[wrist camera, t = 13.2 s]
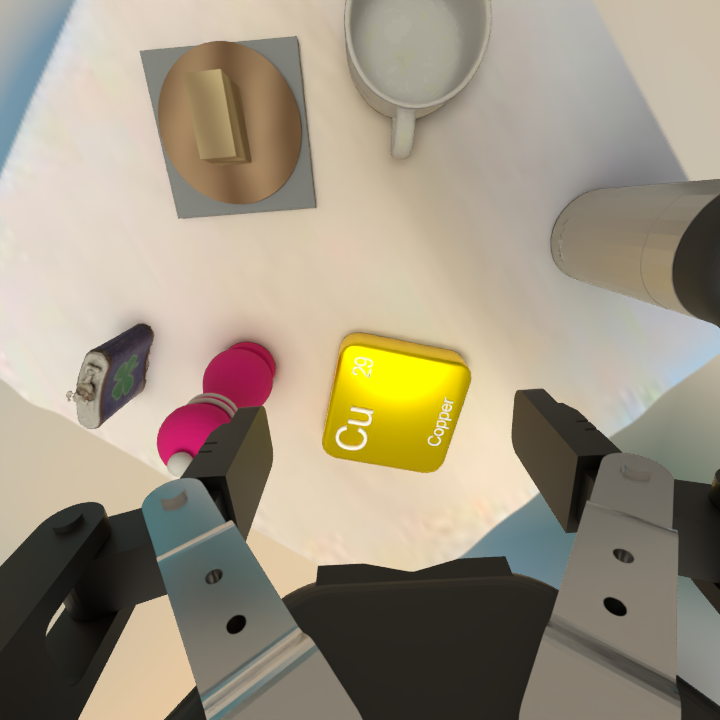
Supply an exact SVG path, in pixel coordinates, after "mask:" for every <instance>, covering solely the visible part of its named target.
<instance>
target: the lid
mask: <svg viewBox="0 0 720 720" xmlns="http://www.w3.org/2000/svg"><path fill="white" fill-rule="evenodd" d="M158 123H159V129H160V135H161V138H162V142H163V145H164V147H165V150H166V152H167V155H168V157H169V158H170V160H171V162H172V164H173V165H174V167H175V168H176V170H177V171H178V173H179V174H180V175H181V176H182V177H183V178H184V179H185V181H187V182H188V183H189V184H190V185H191V186H192V187H193V188H195V189H196V190H197V191H199V192H200V193H202V194H204V195H205V196H207V197H209V198H212V199H214V200H217V201H220V202H224V203H229V204H250V203H255V202H258V201H261V200H264V199H266V198H268V197H270V196H271V195H273V194H274V193H276V192H277V191H278V190H279V189H280V188H281V187H282V186H283V185H284V184H285V183H286V182H287V180H288V179H289V178H290V176H291V174H292V173H293V171H294V169H295V166H296V164H297V161H298V158H299V155H300V149H301V143H302V127H301V119H300V113H299V110H298V106H297V103H296V101H295V98H294V96H293V93H292V92H291V90H290V88H289V86H288V84H287V83H286V81H285V79H284V78H283V77H282V75H281V74H280V72H279V71H278V70H277V69H276V68H275V67H274V66H273V65H272V64H271V62H269V61H268V60H267V59H266V58H265V57H263V56H262V55H261V54H259V53H257V52H256V51H254V50H253V49H250V48H248V47H246V46H244V45H240V44H237V43H233V42H226V41H214V42H209V43H204V44H201V45H199V46H196V47H194V48H192V49H191V50H189V51H187V52H186V53H185V54H183V55H182V56H181V57H180V58H179V59H178V60H177V61H176V62H175V63H174V64H173V66H172V67H171V69H170V70H169V72H168V73H167V76H166V78H165V80H164V82H163V85H162V88H161V92H160V97H159V102H158Z"/></svg>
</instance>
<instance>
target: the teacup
mask: <svg viewBox="0 0 720 720" xmlns="http://www.w3.org/2000/svg"><path fill="white" fill-rule="evenodd" d="M344 26H345V38H346V53H347V61H348V66H349V70H350V73H351V76H352V79H353V82H354V84H355V86H356V88H357V89H358V91H359V93H360V94H361V96H362V97H363V98H364V99H365V101H366V102H367V103H368V104H369V105H370V106H371V107H372V108H374V109H375V110H376V111H378V112H380V113H382V114H383V115H386V116H388V117H391V118H392V138H391V155H392V157H393V158H396V159H406V158H408V157H409V155H410V153H411V149H412V144H413V138H414V131H415V118H420V117H422V116H425V115H427V114H430V113H432V112H433V111H435V110H437V109H438V108H440V107H441V106H442V105H444V104H445V103H446V102H447V101H448V100H450V99H451V98H453V97H454V96H455V95H457V94H458V93H459V92H460V91H461V90H462V89H463V88H464V87H465V86H466V85H467V84H468V82H469V81H470V80H471V78H472V77H473V76H474V74H475V73H476V71H477V69H478V68H479V65H480V63H481V61H482V59H483V56H484V54H485V51H486V48H487V45H488V41H489V37H490V30H491V0H346V4H345V13H344Z"/></svg>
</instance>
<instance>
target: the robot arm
mask: <svg viewBox="0 0 720 720" xmlns="http://www.w3.org/2000/svg"><path fill="white" fill-rule="evenodd" d="M551 250H552V255H553V258H554V260H555V262H556V264H557V266H558V267H559V268H560V269H561V271H562V272H564V273H565V274H567V275H568V276H570V277H572V278H575V279H578V280H581V281H584V282H587V283H590V284H592V285H596V286H599V287H602V288H605V289H608V290H611V291H614V292H617V293H620V294H623V295H626V296H629V297H632V298H636V299H639V300H642V301H645V302H648V303H651V304H654V305H657V306H660V307H663V308H666V309H670V310H673V311H676V312H679V313H682V314H685V315H688V316H692V317H695V318H698V319H701V320H704V321H707V322H710V323H713V324H715V325H717V326H718V327H719V328H720V179H714V180H702V181H690V182H678V183H666V184H654V185H642V186H630V187H617V188H606V189H597V190H593V191H590V192H587V193H585V194H583V195H581V196H579V197H578V198H576V199H575V200H574V201H573V202H571V203H570V204H569V205H568V206H567V207H566V208H565V210H564V211H563V212H562V213H561V215H560V217H559V218H558V220H557V222H556V224H555V227H554V229H553V233H552V238H551ZM512 443H513V448H514V450H515V453H516V454H517V456H518V458H519V459H520V461H521V462H522V464H523V466H524V467H525V469H526V470H527V472H528V474H529V475H530V477H531V478H532V480H533V481H534V483H535V485H536V486H537V488H538V489H539V491H540V493H541V494H542V496H543V497H544V499H545V501H546V502H547V504H548V505H549V507H550V508H551V510H552V512H553V513H554V515H555V516H556V518H557V520H558V521H559V523H560V524H561V526H562V528H563V529H564V531H565V532H566V533H572V532H577V534H576V537H575V541H574V544H573V547H572V550H571V553H570V557H569V560H568V564H567V567H566V570H565V573H564V577H563V579H562V583H561V586H560V590H557V589H555V588H554V587H552V586H550V585H548V584H546V583H544V582H542V581H539V580H536V579H534V578H531V577H528V576H525V575H521V574H517V573H512V572H511V569H510V567H509V565H508V562H507V560H506V557H504V556H502V557H483V558H464V559H456V560H453V561H449V562H446V563H442V564H439V565H436V566H432V567H429V568H425V569H422V570H419V571H414V572H409V571H402V570H397V569H391V568H386V567H380V566H374V565H369V564H345V565H326V566H318V571H317V580H316V582H315V583H311V584H308V585H306V586H304V587H301V588H299V589H297V590H295V591H293V592H291V593H290V594H288V595H286V596H285V597H284V598H282V599H281V598H280V596H279V595H278V593H277V591H276V590H275V588H274V587H273V585H272V583H271V582H270V580H269V579H268V577H267V575H266V574H265V572H264V571H263V569H262V567H261V566H260V564H259V562H258V561H257V559H256V558H255V556H254V554H253V553H252V551H251V550H250V548H249V546H248V545H247V543H246V539H247V536H248V533H249V531H250V528H251V525H252V522H253V519H254V516H255V513H256V510H257V508H258V505H259V502H260V499H261V496H262V493H263V490H264V487H265V484H266V482H267V479H268V476H269V473H270V470H271V467H272V462H273V448H272V442H271V437H270V431H269V426H268V420H267V415H266V411H265V408H264V407H263V406H252V407H239V408H238V410H237V411H236V413H235V415H234V416H233V418H232V419H231V421H230V423H223V424H222V425H220V426H219V427H218V428H216V429H215V430H214V431H212V432H211V433H210V434H209V436H208V437H207V439H206V440H205V442H204V445H202V446H201V448H200V449H199V451H198V453H197V454H196V455H195V457H194V458H193V460H192V461H191V463H190V464H189V466H188V467H187V469H186V470H185V472H184V473H183V475H182V476H181V478H180V479H177V480H173V481H170V482H168V483H165V484H163V485H162V486H160V487H158V488H156V489H155V490H154V491H152V492H151V493H150V494H149V495H148V496H147V497H146V498H145V500H144V502H143V504H142V508H139V509H136V510H133V511H129V512H125V513H121V514H118V515H114V516H110V517H108V516H107V514H106V511H105V509H104V507H103V506H102V505H101V504H99V503H96V502H87V503H80V504H76V505H73V506H70V507H68V508H66V509H63V510H61V511H59V512H57V513H56V514H54V515H52V516H51V517H49V518H48V519H46V520H45V521H44V522H43V523H41V524H40V525H39V526H38V527H37V528H36V530H34V532H33V533H32V534H31V535H30V536H29V537H28V538H27V539H26V540H25V541H24V542H23V543H22V544H21V545H20V546H19V547H18V548H17V550H16V551H15V552H14V553H13V554H12V555H11V556H10V557H9V558H8V559H7V560H6V561H5V562H4V563H3V565H1V566H0V720H78V718H79V716H80V714H81V712H82V710H83V708H84V706H85V704H86V703H87V701H88V699H89V697H90V695H91V693H92V691H93V689H94V687H95V684H96V683H97V681H98V679H99V677H100V675H101V673H102V671H103V669H104V667H105V665H106V663H107V661H108V659H109V657H110V655H111V653H112V651H113V649H114V647H115V645H116V643H117V641H118V639H119V637H120V635H121V633H122V631H123V629H124V628H125V626H126V624H127V622H128V620H129V618H130V616H131V614H132V611H133V610H134V608H135V605H136V604H139V603H143V602H146V601H149V600H152V599H154V598H157V597H161V596H164V595H167V594H168V597H169V600H170V603H171V606H172V609H173V612H174V616H175V619H176V622H177V625H178V627H179V631H180V635H181V638H182V641H183V644H184V647H185V650H186V654H187V656H188V660H189V663H190V666H191V669H192V673H193V675H194V679H195V682H196V686H195V687H194V688H193V689H192V691H191V692H190V693H189V694H188V695H187V696H186V697H185V698H184V699H183V700H182V701H181V702H180V703H179V704H178V705H177V707H176V708H175V709H174V710H173V711H172V712H171V713H170V714H169V715H168V716H167V717H166V718H165V719H164V720H720V706H719V705H717V704H716V703H715V702H713V701H711V699H709V698H708V697H706V696H705V695H704V694H702V693H701V692H700V691H698V690H697V689H695V688H694V687H693V686H691V685H690V684H689V683H687V682H686V681H684V680H683V679H682V678H680V677H679V676H678V675H676V648H677V593H678V575H679V576H685V577H689V578H691V580H692V581H693V582H694V583H695V585H696V586H697V587H698V588H699V590H700V591H701V592H702V593H703V594H704V596H705V597H706V598H707V599H708V601H709V602H710V603H711V604H712V606H713V607H714V608H715V609H716V610H717V612H718V613H719V614H720V469H719V470H718V471H717V472H716V474H715V477H714V480H713V483H712V485H710V484H704V483H697V482H689V481H682V480H675V479H674V478H673V476H672V474H671V473H670V472H669V471H668V470H667V469H666V468H665V467H664V466H662V465H661V464H659V463H657V462H655V461H653V460H651V459H649V458H646V457H643V456H639V455H635V454H630V453H622V452H621V451H620V450H619V449H618V448H617V447H616V446H615V445H614V444H613V443H612V442H611V441H610V440H609V439H608V438H607V437H605V436H604V435H603V434H602V433H601V432H600V431H599V430H597V429H596V427H595V426H594V425H593V424H592V423H590V422H588V420H587V419H586V418H585V417H584V416H583V415H582V414H581V413H580V412H579V411H578V410H576V409H574V408H572V407H570V406H568V405H566V404H564V403H557V402H556V401H555V400H554V399H553V398H552V397H551V396H550V395H549V394H548V393H547V392H546V391H545V390H544V389H528V390H518V391H517V392H516V394H515V398H514V410H513V422H512ZM62 603H64V605H65V609H64V611H63V612H62V613H61V615H60V616H59V618H58V619H57V621H56V622H55V624H54V625H53V627H52V628H51V629H50V631H49V633H48V634H47V636H46V631H47V628H48V625H49V623H50V621H51V619H52V617H53V616H54V614H55V613H56V611H57V610H58V609H59V607H60V606H61V604H62Z"/></svg>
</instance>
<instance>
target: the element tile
mask: <svg viewBox="0 0 720 720" xmlns="http://www.w3.org/2000/svg"><path fill="white" fill-rule="evenodd" d="M470 382H471V372H470V370H469V368H468V367H467V365H466V364H465V362H464V361H463V359H462V358H461V356H460V355H459V354H457V353H456V352H454V351H451V350H446V349H441V348H436V347H431V346H426V345H421V344H416V343H411V342H406V341H401V340H396V339H390V338H385V337H380V336H375V335H370V334H365V333H353V334H349V335H348V336H346V337H345V338H344V340H343V341H342V343H341V345H340V349H339V354H338V360H337V365H336V370H335V375H334V380H333V385H332V390H331V395H330V400H329V405H328V410H327V415H326V420H325V426H324V432H323V438H322V445H323V448H324V450H325V452H326V453H327V454H329V455H330V456H332V457H335V458H340V459H345V460H351V461H357V462H363V463H369V464H374V465H380V466H386V467H392V468H398V469H403V470H409V471H415V472H421V473H430V472H434V471H436V470H438V469H439V468H440V467H441V466H442V464H443V462H444V460H445V457H446V454H447V451H448V448H449V445H450V442H451V439H452V436H453V433H454V430H455V427H456V424H457V421H458V418H459V415H460V412H461V409H462V406H463V403H464V400H465V397H466V394H467V392H468V389H469V386H470Z"/></svg>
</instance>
